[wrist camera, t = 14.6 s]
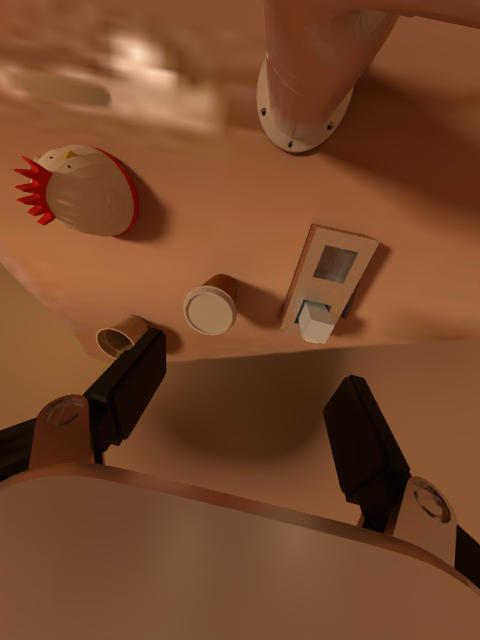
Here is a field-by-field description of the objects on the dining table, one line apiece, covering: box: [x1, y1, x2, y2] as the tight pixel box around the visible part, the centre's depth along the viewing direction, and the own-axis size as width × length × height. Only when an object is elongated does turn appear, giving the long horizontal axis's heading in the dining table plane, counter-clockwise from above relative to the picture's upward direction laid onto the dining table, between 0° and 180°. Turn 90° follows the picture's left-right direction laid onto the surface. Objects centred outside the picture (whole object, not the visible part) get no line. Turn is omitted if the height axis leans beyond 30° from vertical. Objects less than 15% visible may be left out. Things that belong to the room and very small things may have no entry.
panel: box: [279, 224, 380, 338], centre depth 39 cm, size 20×10×5 cm, turn 169°
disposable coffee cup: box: [184, 274, 237, 335], centre depth 40 cm, size 10×10×12 cm
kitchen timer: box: [14, 145, 138, 236], centre depth 32 cm, size 14×14×15 cm
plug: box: [298, 300, 335, 344], centre depth 39 cm, size 5×4×10 cm
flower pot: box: [96, 316, 148, 359], centre depth 50 cm, size 9×9×9 cm
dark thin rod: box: [342, 280, 360, 319], centre depth 40 cm, size 15×1×1 cm, turn 179°
